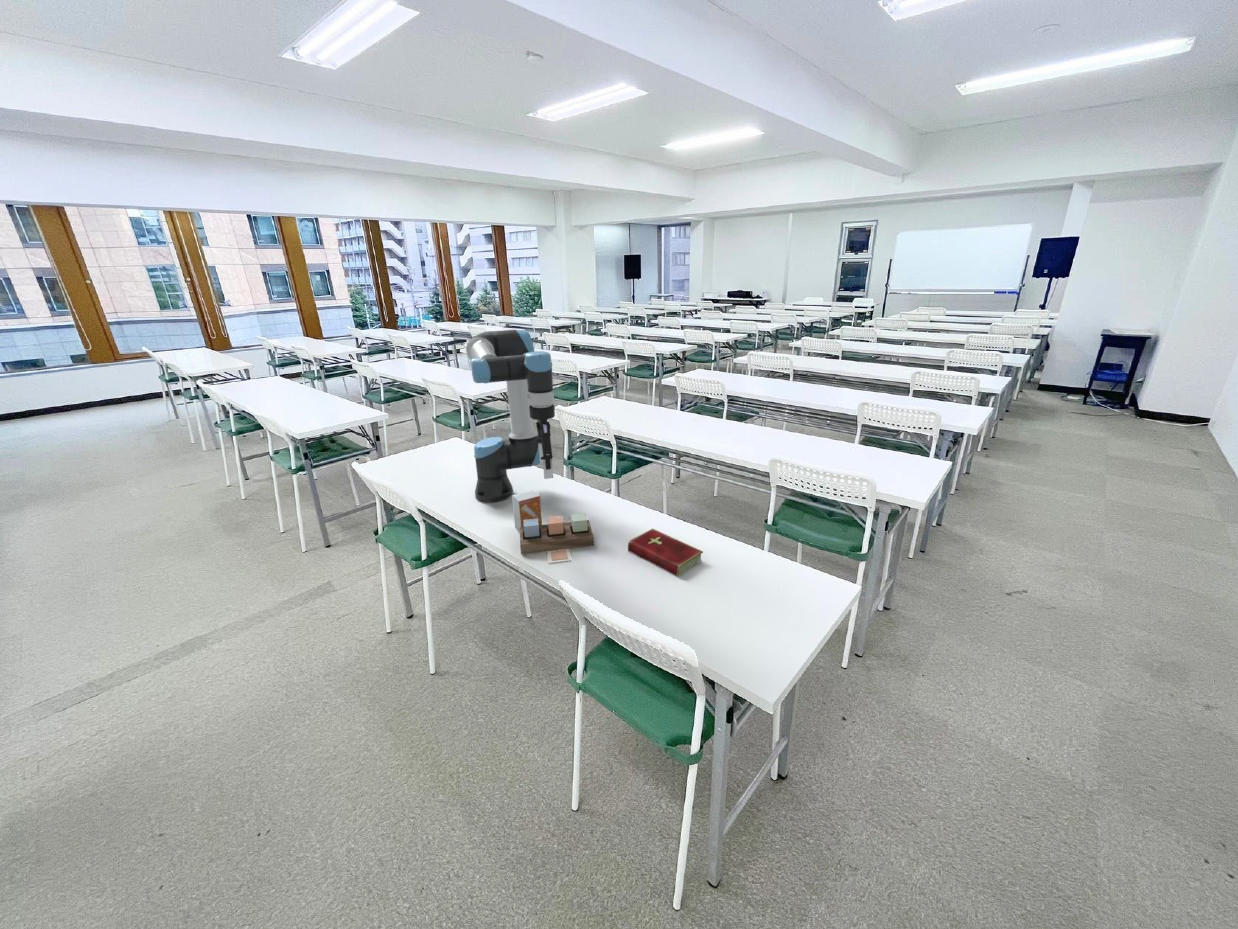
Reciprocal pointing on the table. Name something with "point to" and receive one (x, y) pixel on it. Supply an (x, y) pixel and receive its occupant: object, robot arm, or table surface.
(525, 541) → the wooden tray
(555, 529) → the cap terracotta
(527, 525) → the light blue cube
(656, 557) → the hardcover book
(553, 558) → the tile
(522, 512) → the small box
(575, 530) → the cap sage
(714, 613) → the table surface
